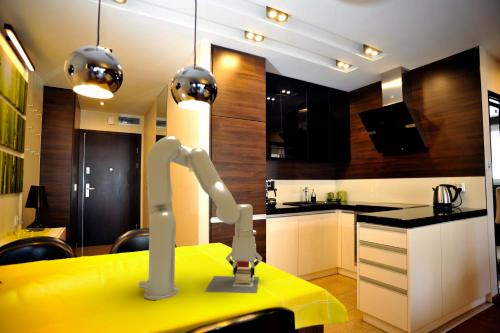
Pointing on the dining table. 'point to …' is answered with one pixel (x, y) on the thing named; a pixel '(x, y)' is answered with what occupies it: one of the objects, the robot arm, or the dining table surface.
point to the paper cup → (242, 264)
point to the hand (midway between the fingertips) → (243, 276)
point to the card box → (243, 275)
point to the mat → (232, 285)
